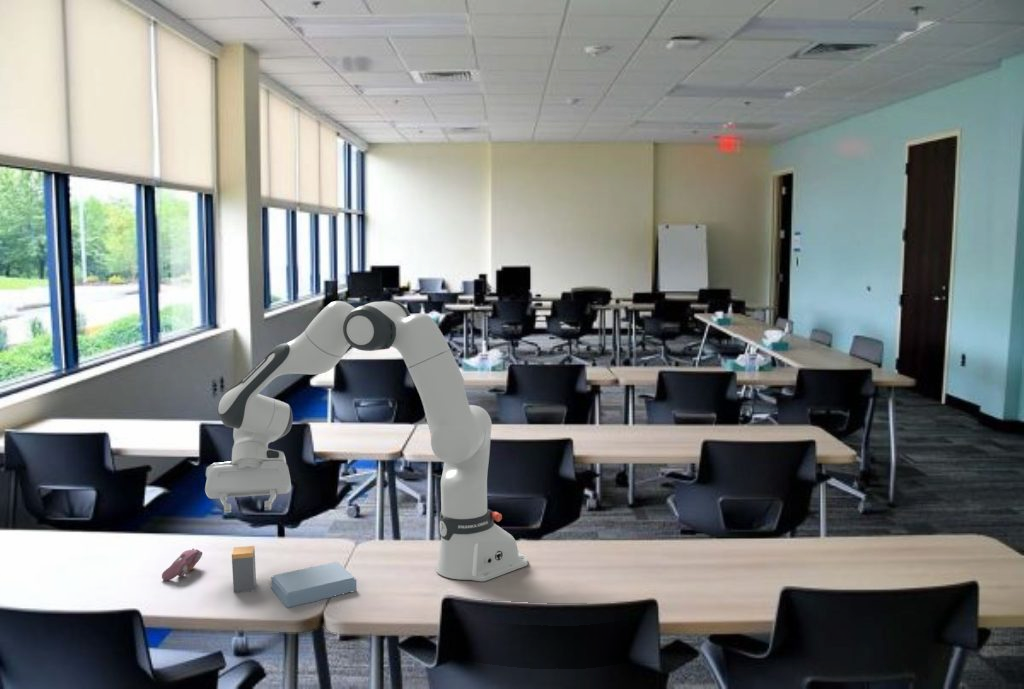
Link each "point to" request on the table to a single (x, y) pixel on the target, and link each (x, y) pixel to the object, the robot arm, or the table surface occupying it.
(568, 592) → the table surface
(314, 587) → the stand
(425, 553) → the table surface
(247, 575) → the block
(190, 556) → the video game controller
